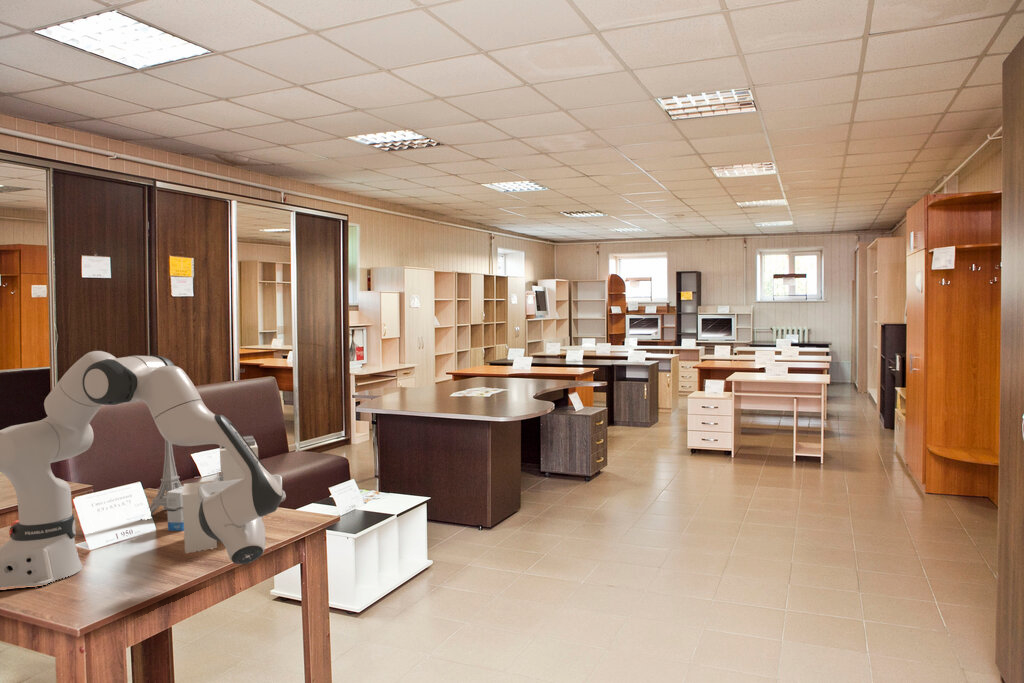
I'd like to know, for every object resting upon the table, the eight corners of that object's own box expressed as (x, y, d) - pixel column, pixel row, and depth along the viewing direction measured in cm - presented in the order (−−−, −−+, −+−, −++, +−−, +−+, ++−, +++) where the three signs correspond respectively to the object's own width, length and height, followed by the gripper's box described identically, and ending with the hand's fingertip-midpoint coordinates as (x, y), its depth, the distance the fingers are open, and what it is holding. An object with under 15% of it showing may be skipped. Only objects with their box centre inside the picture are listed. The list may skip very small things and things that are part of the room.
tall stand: (224, 540, 194) (220, 450, 193) (223, 527, 207) (219, 442, 206) (261, 535, 198) (257, 447, 197) (258, 522, 211) (254, 439, 210)
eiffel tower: (139, 520, 217) (134, 427, 216) (167, 508, 230) (163, 420, 229) (176, 521, 215) (171, 427, 213) (203, 509, 228) (198, 420, 227)
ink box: (181, 531, 204) (179, 492, 203) (167, 530, 205) (165, 492, 204) (200, 522, 212) (198, 485, 212) (186, 522, 213) (184, 485, 213)
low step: (185, 553, 184) (182, 495, 184) (186, 538, 197) (183, 483, 197) (217, 548, 188) (214, 491, 187) (216, 534, 200) (213, 480, 200)
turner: (221, 442, 206) (220, 433, 206) (252, 439, 210) (252, 430, 210) (222, 455, 185) (222, 446, 185) (258, 452, 189) (257, 443, 189)
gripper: (286, 492, 171) (280, 457, 182) (197, 505, 163) (196, 467, 174) (286, 511, 174) (280, 475, 185) (199, 524, 166) (198, 486, 177)
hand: (239, 471), depth 179 cm, fingers open, 8 cm apart
